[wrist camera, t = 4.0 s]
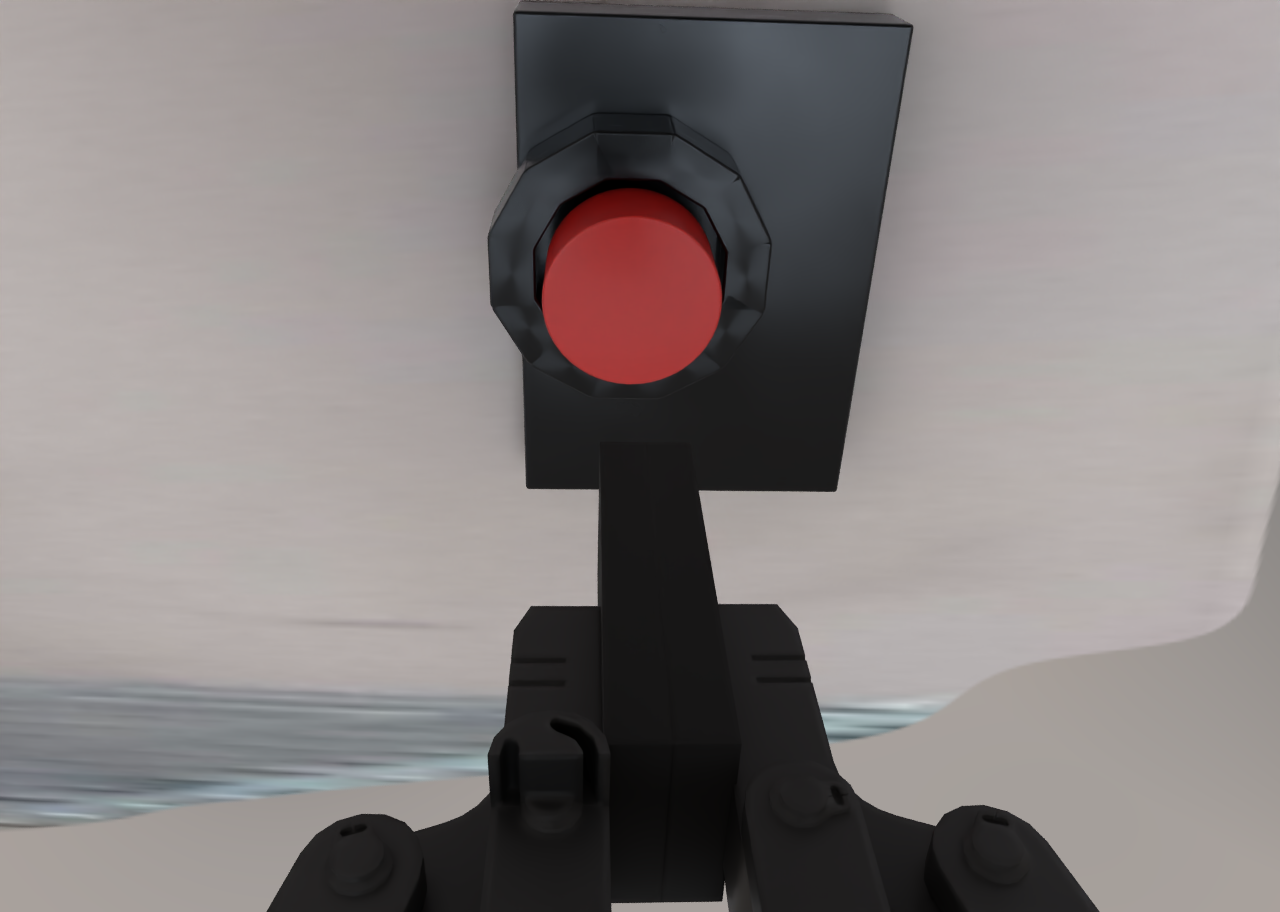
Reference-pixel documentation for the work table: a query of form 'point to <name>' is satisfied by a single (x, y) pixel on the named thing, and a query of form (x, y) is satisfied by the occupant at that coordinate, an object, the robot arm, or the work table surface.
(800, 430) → the switch box
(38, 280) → the work table surface
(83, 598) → the work table surface
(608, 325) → the button
